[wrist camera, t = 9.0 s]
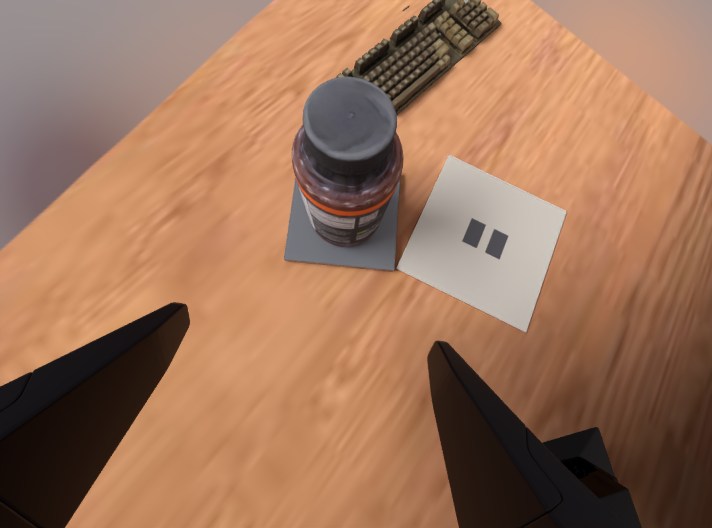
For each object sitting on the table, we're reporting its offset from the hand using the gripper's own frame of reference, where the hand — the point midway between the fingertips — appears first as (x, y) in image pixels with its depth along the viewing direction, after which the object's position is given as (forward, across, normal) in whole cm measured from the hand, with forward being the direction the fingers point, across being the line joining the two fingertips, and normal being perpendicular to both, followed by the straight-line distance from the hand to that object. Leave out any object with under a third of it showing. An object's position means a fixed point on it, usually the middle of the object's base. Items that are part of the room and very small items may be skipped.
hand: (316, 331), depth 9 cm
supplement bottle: (+14, -1, +1) cm, 14 cm away
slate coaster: (+15, -1, +1) cm, 15 cm away
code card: (+14, -13, 0) cm, 19 cm away
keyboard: (+27, -4, -12) cm, 30 cm away
